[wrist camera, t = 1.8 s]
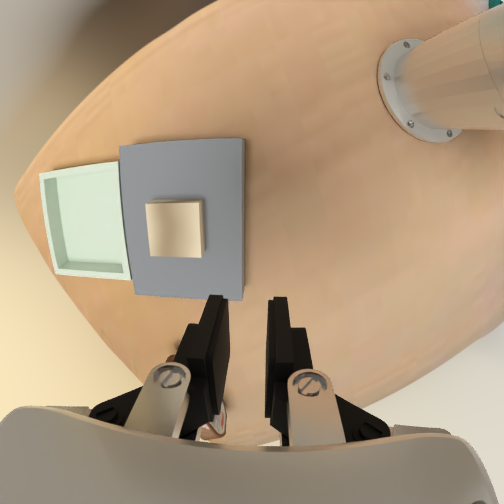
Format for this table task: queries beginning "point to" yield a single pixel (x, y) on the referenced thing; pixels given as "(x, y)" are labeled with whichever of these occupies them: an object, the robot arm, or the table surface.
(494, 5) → the digital multimeter
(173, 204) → the block
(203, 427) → the tin
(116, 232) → the box
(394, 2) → the table surface
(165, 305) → the table surface
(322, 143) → the table surface
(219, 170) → the plate
